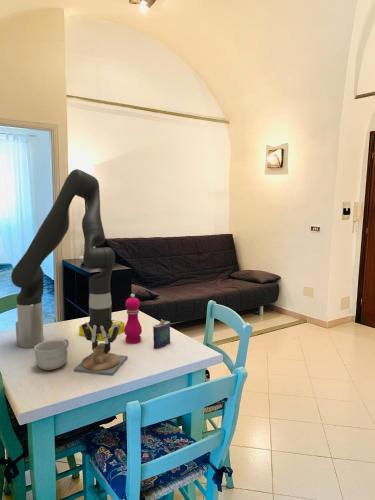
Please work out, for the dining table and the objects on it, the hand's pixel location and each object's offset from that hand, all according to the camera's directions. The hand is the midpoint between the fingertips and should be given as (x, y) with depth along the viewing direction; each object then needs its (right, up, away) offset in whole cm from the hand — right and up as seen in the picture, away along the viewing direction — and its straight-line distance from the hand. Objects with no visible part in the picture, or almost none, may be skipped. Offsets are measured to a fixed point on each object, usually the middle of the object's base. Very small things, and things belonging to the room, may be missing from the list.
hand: (101, 352), depth 131 cm
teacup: (-16, -5, +1) cm, 17 cm away
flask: (+20, -3, +19) cm, 28 cm away
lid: (0, -4, 0) cm, 4 cm away
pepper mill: (+8, -2, +23) cm, 25 cm away
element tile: (-7, -1, +33) cm, 34 cm away
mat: (0, -5, +1) cm, 5 cm away
